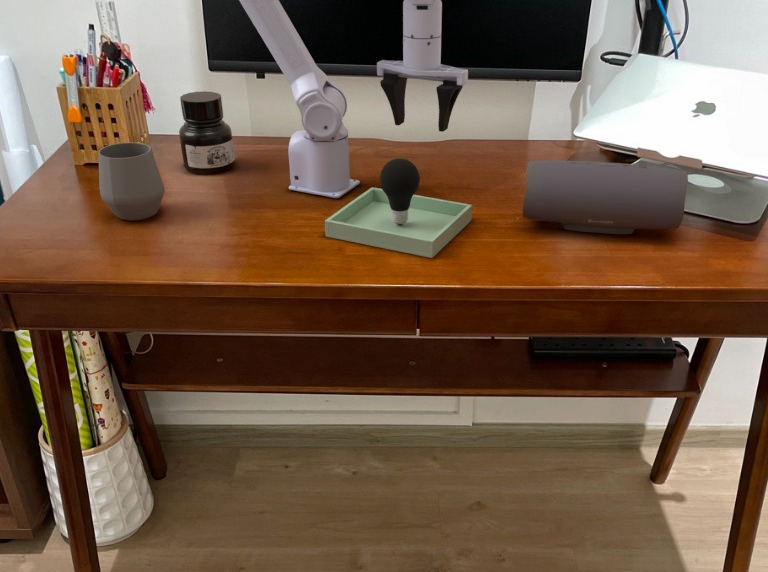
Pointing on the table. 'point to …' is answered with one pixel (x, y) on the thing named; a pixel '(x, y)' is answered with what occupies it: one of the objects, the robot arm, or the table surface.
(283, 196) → the table surface
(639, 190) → the bluetooth speaker
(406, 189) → the light bulb
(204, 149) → the ink bottle
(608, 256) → the table surface
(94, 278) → the table surface
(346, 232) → the tray
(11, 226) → the table surface
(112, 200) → the cup
